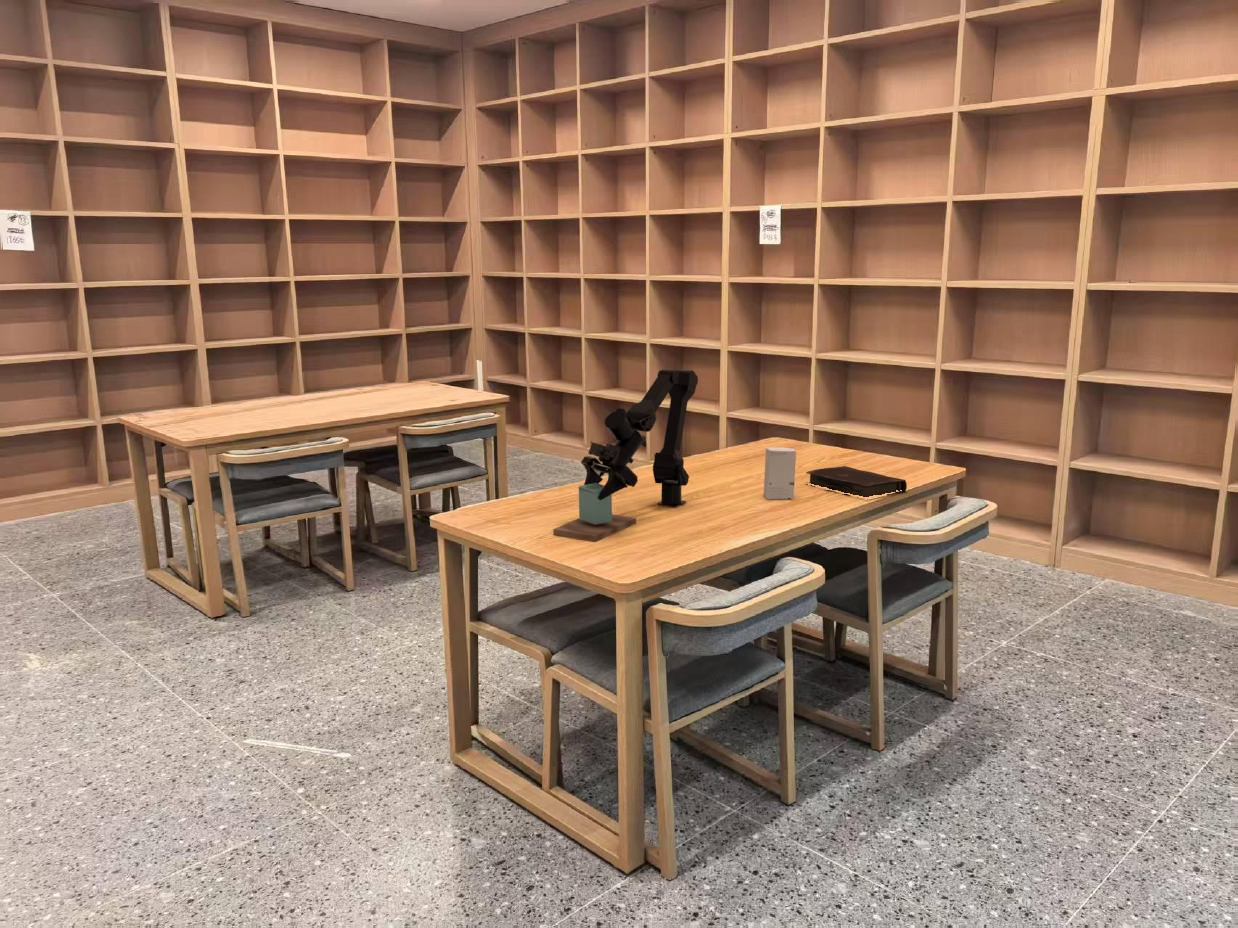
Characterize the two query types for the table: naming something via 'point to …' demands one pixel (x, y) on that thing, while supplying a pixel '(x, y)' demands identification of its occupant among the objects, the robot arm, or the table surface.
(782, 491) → the skincare box
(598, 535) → the stud board
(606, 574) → the table surface
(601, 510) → the seafoam square prism
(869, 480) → the diary
